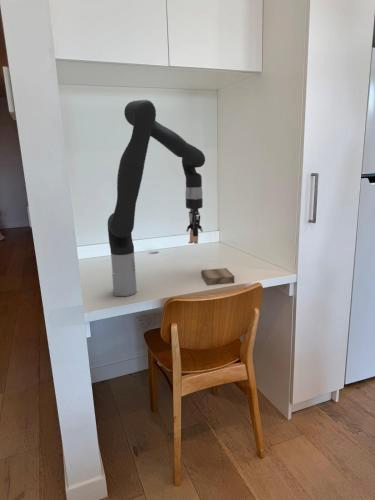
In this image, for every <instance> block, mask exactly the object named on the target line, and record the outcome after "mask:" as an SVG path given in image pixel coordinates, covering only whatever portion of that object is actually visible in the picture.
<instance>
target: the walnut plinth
mask: <svg viewBox="0 0 375 500" xmlns="http://www.w3.org/2000/svg"><path fill="white" fill-rule="evenodd" d="M200 273H201V278H202V279H203V281H204V282H205V283H206V285H207V286H213V285H223V284H235V275H234V274H233V273H232V272H231V271H230V270H229V269H228V268H227V267H225V268H222V267H221V268H214V269H211V268H210V269H201V270H200Z"/></svg>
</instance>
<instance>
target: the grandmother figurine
mask: <svg viewBox="0 0 375 500" xmlns="http://www.w3.org/2000/svg"><path fill="white" fill-rule="evenodd" d="M193 221H194V220H193ZM195 225H197V223H196V224H195ZM198 230H200V232H201V233H203V232H204V231H203V228H202V225H200V226H199V228H198ZM185 232H186V233H187V232H189V241H188V244H197V245H198V244H199V242H198V241H199V235H198V236H193V223H191V224H190V223H189V225H188V226H187V228H186V230H185Z"/></svg>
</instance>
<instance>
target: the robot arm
mask: <svg viewBox="0 0 375 500" xmlns="http://www.w3.org/2000/svg"><path fill="white" fill-rule="evenodd" d="M156 110H157V109H156V107H155V105H154V103H153V102H152V101H150V100H149V99H139V100H133V101H130V102H128V103H127V104H126V106H125V108H124V118H125V120H126V121H127V123H128V124H129V125H131V126H132V133H131V137H130V139H129V141H128V143H127V146H126V147H125V149H124V151H123V153H122V155H121V158H120V160H119V164H118V165H119V166H118V171H117V179H116V180H117V181H116V191H117V193H116V194H117V197H116V204H115V208H114V211H113V213H111V214H110V216H109V217H108V219H107V233H108V234H107V235H108V243H109V248H110V258H111V259H110V260H111V261H110V262H111V269H112V270H111V272H112V273H111V275H112V287H113V289H112V290H113V296H114V297H117V296H118V297H128V296H133V295H135V294H136V293H137V292H138V291H137V289H138V288H137V276H136V262H135V247H134V242H133V238H132V232H133V230H134V228H135V216H136V214H135V213H136V205H137V201H138V197H139V192H140V188H141V185H142V179H143V174H144V169H145V164H146V157H147V152H148V148H149V142H150V139H151V138H153V139H154V140H155V141H157V142H158V143H159V144H160V145H162V146H164V148H166V149H167V150H168V151H169V152H171V154H173V155H174V156H176V157H178V158H181V165H182V169H183V172H184V176H185V208H186V209H188V210H189V211H188V216H189V219H188V220H189V225H190V224H191V223H193V236H198V237H199V229H198V228H199V226H201V225H200V224H201V215H200V212H199V209H202V208H204V207H203V206H204V205H203V201H204V200H203V179H202V178H203V177H202V175H201V174H200V173H198V172H197V170H196V168H201V167H202V166H204V165H205V162H206V156H205V155H204V153H203V151H202V150H200V149H199V148H197V147H196V146H194V145H193V144H190V143H188V142H187V141H186V140H185V139H184V138H183V137H181V136H180V135H179V134H178V133H176V132H175V131H173V130H172V129H170V128H168V127H166V126H165V125H162V124H161V123H160V122H158V121H157V120H156V117H157V111H156ZM193 220H194V221H193ZM196 223H197V225H195V224H196Z"/></svg>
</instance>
